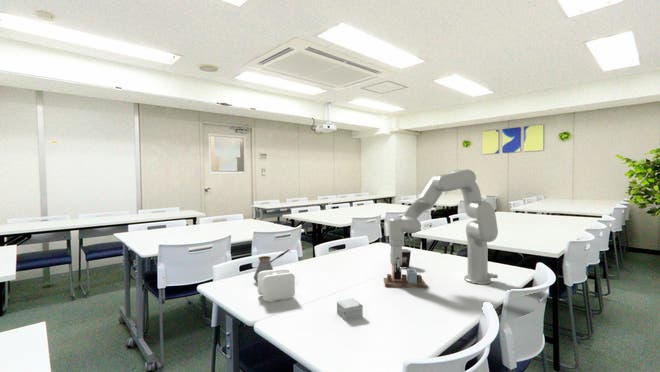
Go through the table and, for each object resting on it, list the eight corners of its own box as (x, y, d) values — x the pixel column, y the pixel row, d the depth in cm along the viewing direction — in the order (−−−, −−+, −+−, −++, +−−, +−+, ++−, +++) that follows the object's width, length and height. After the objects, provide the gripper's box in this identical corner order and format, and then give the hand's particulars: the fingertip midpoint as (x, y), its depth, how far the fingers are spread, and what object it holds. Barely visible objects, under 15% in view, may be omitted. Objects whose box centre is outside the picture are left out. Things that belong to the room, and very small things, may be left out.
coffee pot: (259, 287, 155) (259, 257, 155) (250, 281, 164) (249, 253, 164) (295, 278, 169) (295, 251, 168) (285, 273, 178) (284, 247, 177)
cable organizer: (261, 304, 134) (261, 277, 134) (257, 295, 144) (257, 270, 144) (295, 298, 140) (294, 273, 140) (288, 291, 150) (288, 267, 149)
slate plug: (414, 279, 161) (414, 268, 161) (416, 283, 154) (416, 272, 154) (406, 279, 161) (406, 268, 161) (408, 283, 155) (408, 272, 155)
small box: (336, 313, 124) (336, 300, 124) (353, 310, 127) (353, 297, 127) (345, 321, 117) (345, 308, 117) (363, 317, 120) (363, 304, 120)
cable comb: (422, 281, 162) (422, 272, 162) (426, 287, 152) (426, 278, 152) (383, 280, 164) (383, 272, 164) (385, 286, 154) (385, 277, 154)
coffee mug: (412, 266, 191) (412, 249, 191) (408, 269, 184) (408, 252, 184) (394, 263, 198) (394, 247, 197) (389, 266, 190) (389, 250, 190)
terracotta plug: (399, 276, 162) (399, 265, 161) (401, 280, 155) (401, 269, 155) (391, 276, 162) (391, 265, 162) (393, 280, 155) (393, 269, 155)
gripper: (387, 239, 167) (387, 272, 167) (390, 245, 150) (391, 282, 150) (401, 239, 166) (401, 272, 167) (406, 246, 149) (406, 282, 150)
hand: (396, 276), depth 158 cm, fingers closed on terracotta plug, 6 cm apart
